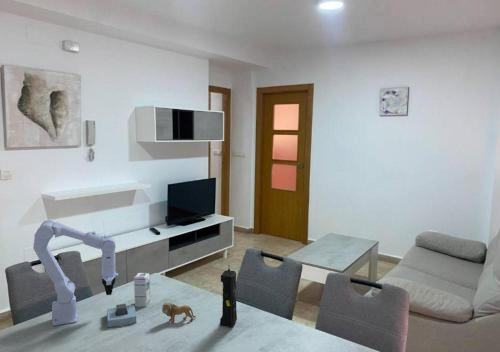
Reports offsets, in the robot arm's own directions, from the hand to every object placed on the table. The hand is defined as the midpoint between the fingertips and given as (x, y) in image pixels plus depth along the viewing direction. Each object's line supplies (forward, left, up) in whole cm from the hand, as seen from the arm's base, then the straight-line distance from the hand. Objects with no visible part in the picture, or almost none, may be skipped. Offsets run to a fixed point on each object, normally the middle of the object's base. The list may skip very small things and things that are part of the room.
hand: (109, 294), depth 171 cm
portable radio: (+48, -26, -10) cm, 55 cm away
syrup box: (+15, +5, -10) cm, 19 cm away
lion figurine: (+28, -16, -10) cm, 34 cm away
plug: (+5, -7, -9) cm, 12 cm away
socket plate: (+5, -7, -9) cm, 12 cm away
